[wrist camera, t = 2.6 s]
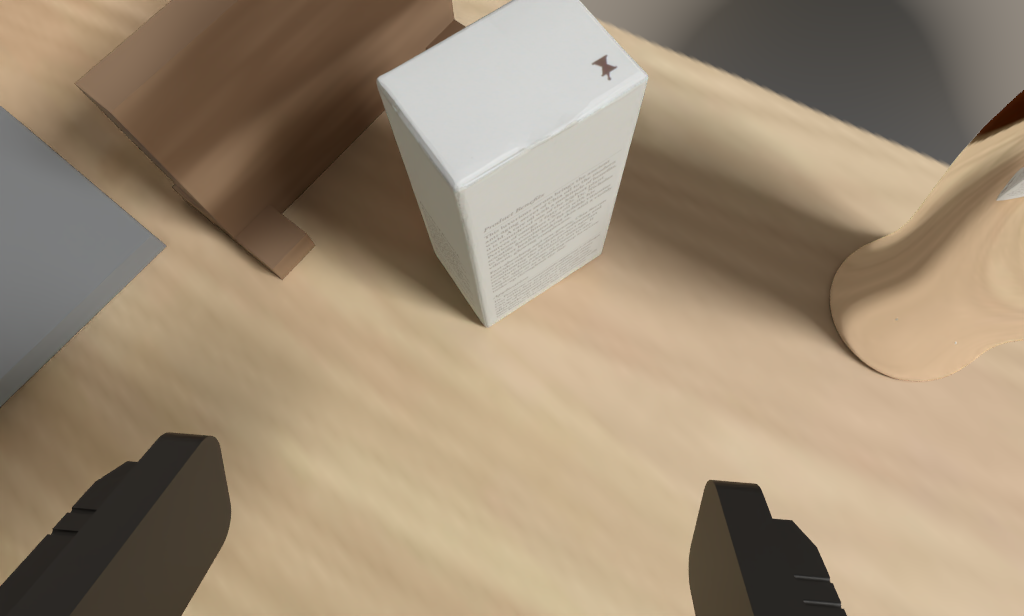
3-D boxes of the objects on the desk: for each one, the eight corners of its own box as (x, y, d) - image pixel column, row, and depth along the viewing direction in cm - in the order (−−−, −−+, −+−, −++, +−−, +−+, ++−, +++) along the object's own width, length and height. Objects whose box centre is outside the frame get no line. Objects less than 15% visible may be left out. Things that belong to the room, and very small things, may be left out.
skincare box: (545, 182, 30) (561, -34, 18) (603, 256, 29) (658, 75, 17) (428, 254, 29) (368, 73, 17) (483, 333, 28) (458, 196, 16)
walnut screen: (185, 200, 30) (26, 44, 20) (397, -2, 33) (347, -218, 23) (282, 279, 28) (162, 154, 19) (492, 61, 32) (480, -139, 22)
